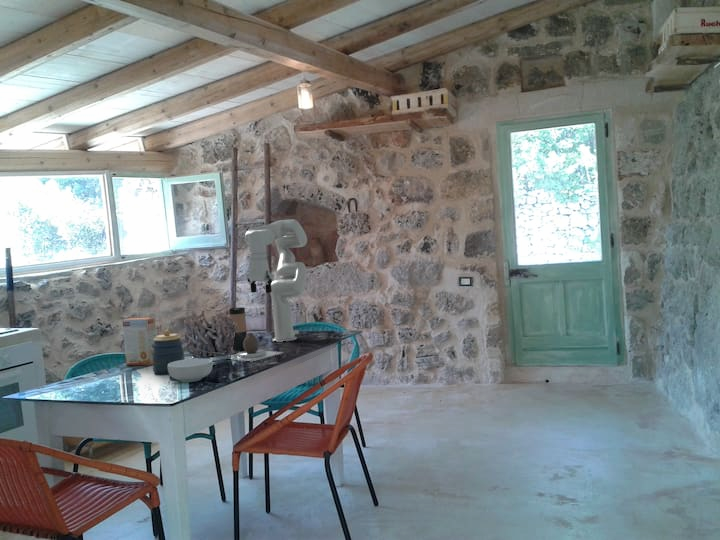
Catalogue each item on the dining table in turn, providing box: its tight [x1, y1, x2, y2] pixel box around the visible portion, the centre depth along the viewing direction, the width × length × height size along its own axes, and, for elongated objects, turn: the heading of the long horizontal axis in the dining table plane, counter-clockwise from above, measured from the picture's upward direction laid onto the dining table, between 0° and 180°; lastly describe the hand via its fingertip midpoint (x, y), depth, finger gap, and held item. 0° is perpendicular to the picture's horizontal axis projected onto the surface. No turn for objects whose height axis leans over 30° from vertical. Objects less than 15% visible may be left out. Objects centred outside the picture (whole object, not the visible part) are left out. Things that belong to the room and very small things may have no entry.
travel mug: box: [228, 307, 248, 351], centre depth 315 cm, size 8×8×20 cm
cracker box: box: [122, 317, 157, 367], centre depth 290 cm, size 14×6×21 cm, turn 65°
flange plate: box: [230, 349, 284, 363], centre depth 292 cm, size 20×20×2 cm
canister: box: [151, 329, 186, 376], centre depth 268 cm, size 13×13×18 cm
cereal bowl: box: [168, 358, 213, 383], centre depth 249 cm, size 17×17×7 cm
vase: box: [243, 332, 260, 353], centre depth 292 cm, size 7×7×9 cm
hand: (261, 292), depth 307 cm, fingers open, 9 cm apart
